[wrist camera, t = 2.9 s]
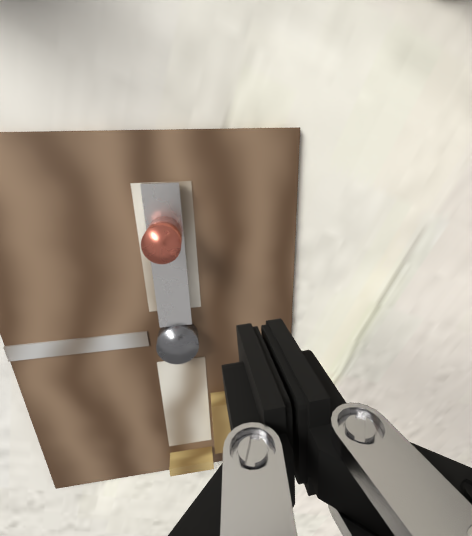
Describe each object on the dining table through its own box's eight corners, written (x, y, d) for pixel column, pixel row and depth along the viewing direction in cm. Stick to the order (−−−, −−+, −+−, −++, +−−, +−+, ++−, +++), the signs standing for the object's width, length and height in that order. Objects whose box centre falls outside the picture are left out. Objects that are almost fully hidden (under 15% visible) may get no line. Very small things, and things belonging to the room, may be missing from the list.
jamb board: (297, 128, 25) (309, 124, 23) (284, 445, 39) (291, 464, 36) (-65, 134, 22) (-97, 130, 19) (57, 483, 35) (48, 507, 33)
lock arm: (199, 350, 31) (201, 387, 26) (160, 355, 30) (155, 393, 25) (185, 181, 25) (184, 186, 20) (136, 183, 24) (122, 189, 19)
